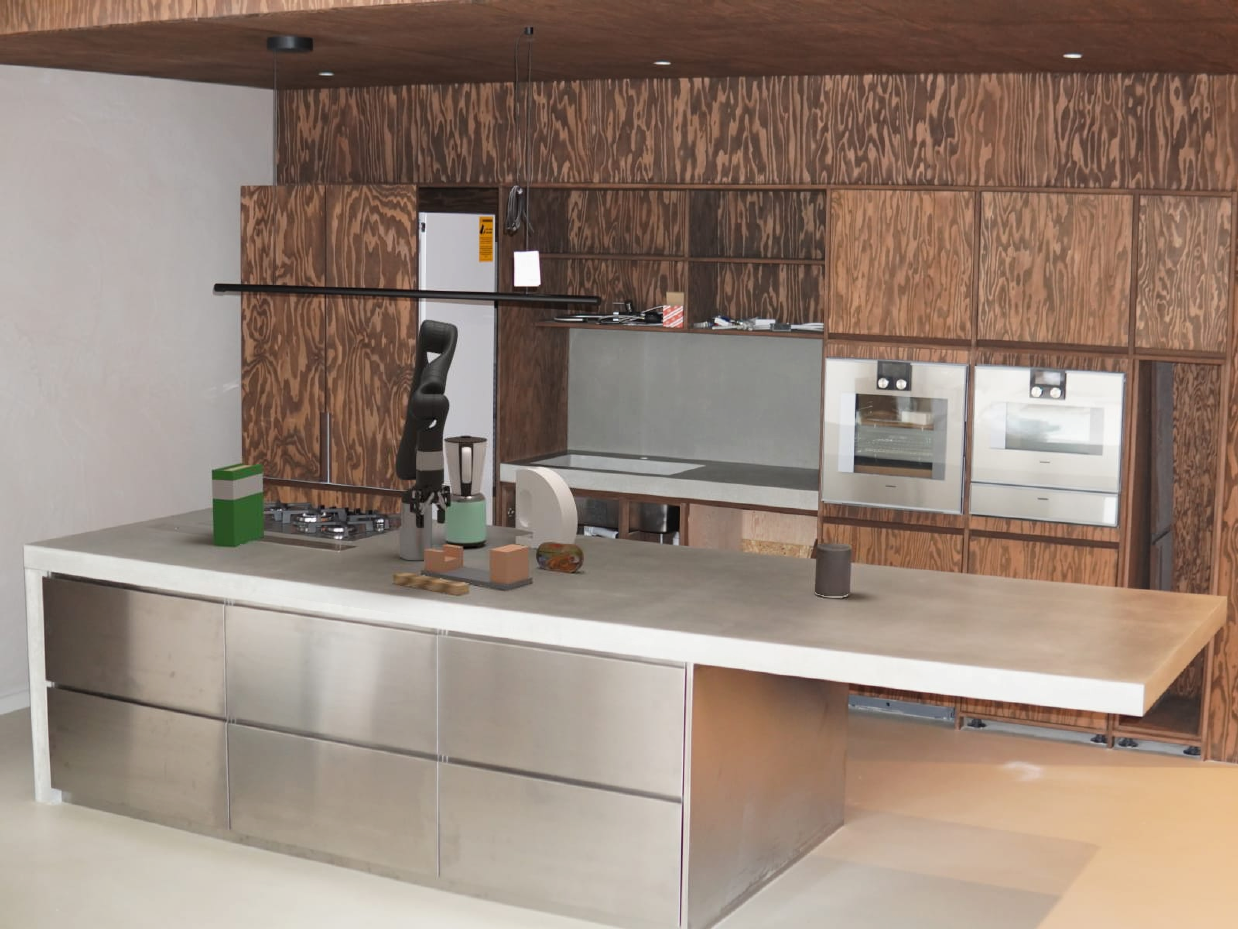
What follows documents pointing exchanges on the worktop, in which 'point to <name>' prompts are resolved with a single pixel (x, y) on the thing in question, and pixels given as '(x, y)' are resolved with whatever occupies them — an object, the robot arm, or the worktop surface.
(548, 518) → the bracket
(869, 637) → the worktop surface
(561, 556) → the tin
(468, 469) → the blender
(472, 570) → the end cap rail
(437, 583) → the slat
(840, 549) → the pillar candle
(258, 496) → the hardback book
